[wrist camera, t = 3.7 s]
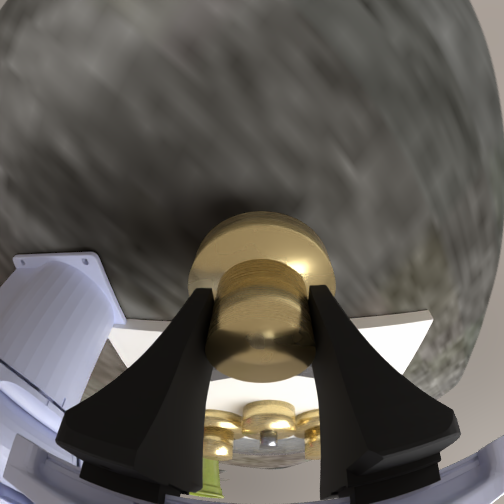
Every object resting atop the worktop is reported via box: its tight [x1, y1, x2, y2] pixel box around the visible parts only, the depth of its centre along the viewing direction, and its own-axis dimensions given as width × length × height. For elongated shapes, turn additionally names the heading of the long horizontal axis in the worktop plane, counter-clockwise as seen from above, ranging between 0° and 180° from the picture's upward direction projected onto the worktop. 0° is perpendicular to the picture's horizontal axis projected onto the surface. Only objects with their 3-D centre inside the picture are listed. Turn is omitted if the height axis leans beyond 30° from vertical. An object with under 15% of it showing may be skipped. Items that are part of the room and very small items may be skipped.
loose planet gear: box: [188, 211, 336, 383], centre depth 10 cm, size 6×6×4 cm
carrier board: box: [108, 310, 433, 439], centre depth 24 cm, size 24×24×1 cm
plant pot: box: [189, 458, 224, 498], centre depth 34 cm, size 9×9×9 cm
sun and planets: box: [203, 400, 321, 461], centre depth 22 cm, size 17×9×4 cm, turn 93°
